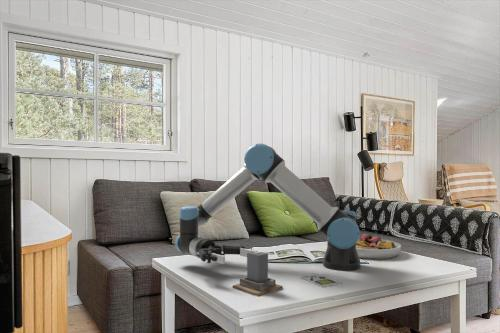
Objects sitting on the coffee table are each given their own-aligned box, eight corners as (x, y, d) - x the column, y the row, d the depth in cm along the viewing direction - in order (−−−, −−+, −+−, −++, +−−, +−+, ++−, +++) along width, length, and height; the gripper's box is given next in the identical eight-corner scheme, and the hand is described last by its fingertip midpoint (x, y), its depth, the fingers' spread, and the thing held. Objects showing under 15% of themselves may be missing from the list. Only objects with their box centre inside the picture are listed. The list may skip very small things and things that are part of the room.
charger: (256, 282, 140) (256, 250, 140) (267, 286, 136) (267, 252, 136) (247, 285, 137) (247, 252, 137) (258, 288, 133) (258, 254, 133)
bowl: (406, 262, 175) (406, 244, 175) (335, 259, 182) (335, 241, 182) (395, 248, 205) (395, 233, 205) (335, 246, 211) (335, 231, 211)
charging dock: (257, 281, 145) (257, 272, 145) (282, 288, 136) (282, 279, 136) (232, 287, 136) (232, 278, 137) (257, 296, 128) (257, 286, 128)
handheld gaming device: (317, 273, 155) (342, 283, 141) (317, 274, 155) (342, 285, 141) (298, 275, 151) (322, 286, 137) (298, 277, 151) (322, 288, 137)
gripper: (227, 253, 167) (263, 262, 152) (176, 262, 150) (210, 274, 135) (227, 235, 167) (263, 242, 152) (176, 242, 150) (210, 251, 135)
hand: (238, 257), depth 143 cm, fingers open, 13 cm apart
